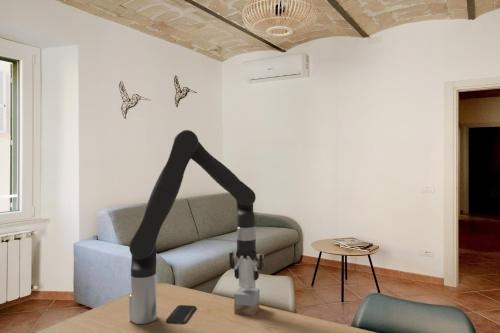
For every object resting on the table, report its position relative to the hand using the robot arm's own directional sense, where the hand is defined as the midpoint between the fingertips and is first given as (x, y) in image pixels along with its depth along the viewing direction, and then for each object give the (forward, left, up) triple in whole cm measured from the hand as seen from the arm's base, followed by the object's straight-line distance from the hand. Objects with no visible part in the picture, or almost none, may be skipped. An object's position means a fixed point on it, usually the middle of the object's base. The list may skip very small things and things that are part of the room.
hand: (246, 279), depth 145 cm
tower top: (0, 0, -9) cm, 9 cm away
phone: (-24, -10, -13) cm, 29 cm away
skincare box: (0, 0, -4) cm, 4 cm away
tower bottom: (0, 0, -13) cm, 13 cm away
